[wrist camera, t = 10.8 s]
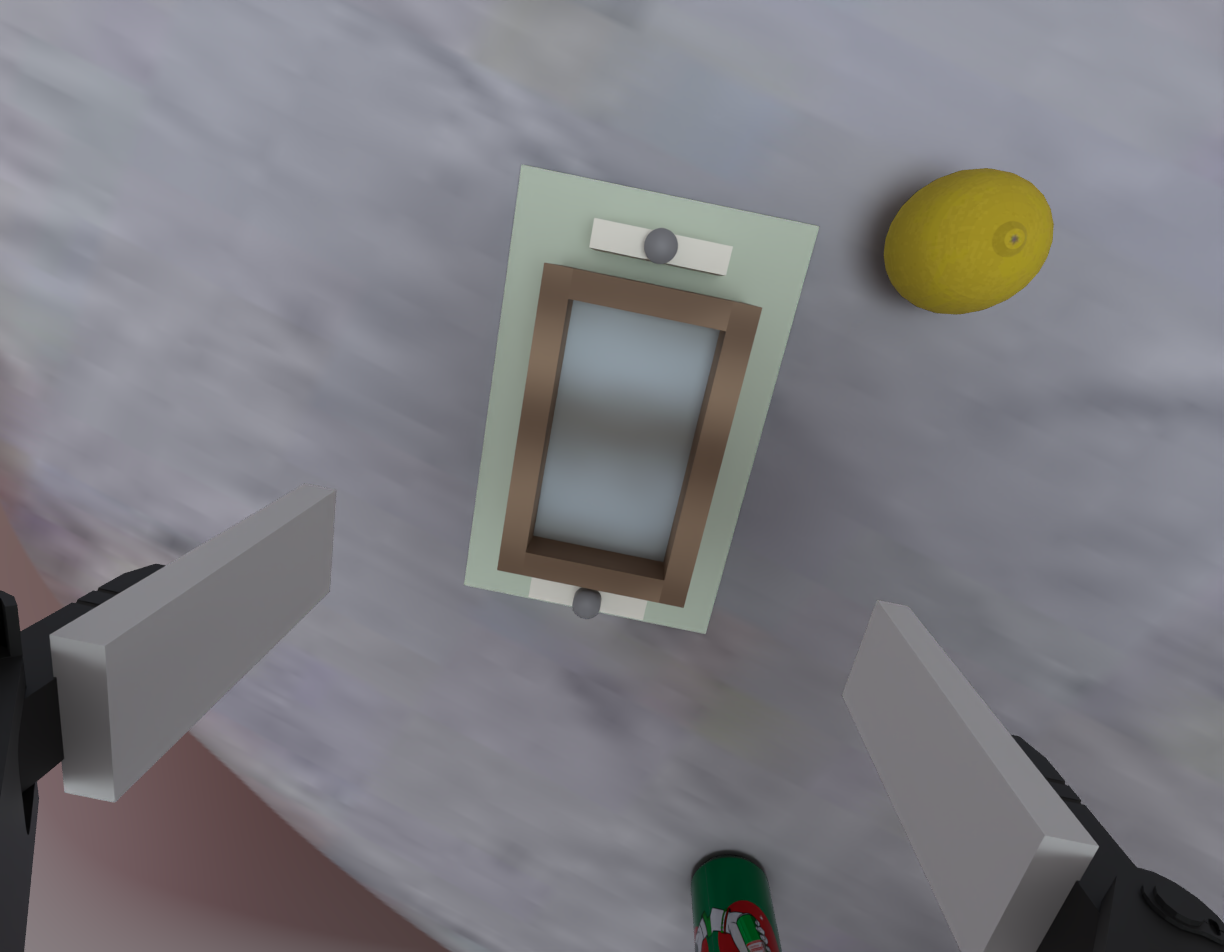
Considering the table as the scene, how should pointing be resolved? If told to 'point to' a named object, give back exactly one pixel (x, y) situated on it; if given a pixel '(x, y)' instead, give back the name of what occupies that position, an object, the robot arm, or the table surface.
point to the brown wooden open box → (622, 432)
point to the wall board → (658, 254)
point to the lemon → (968, 241)
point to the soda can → (733, 907)
